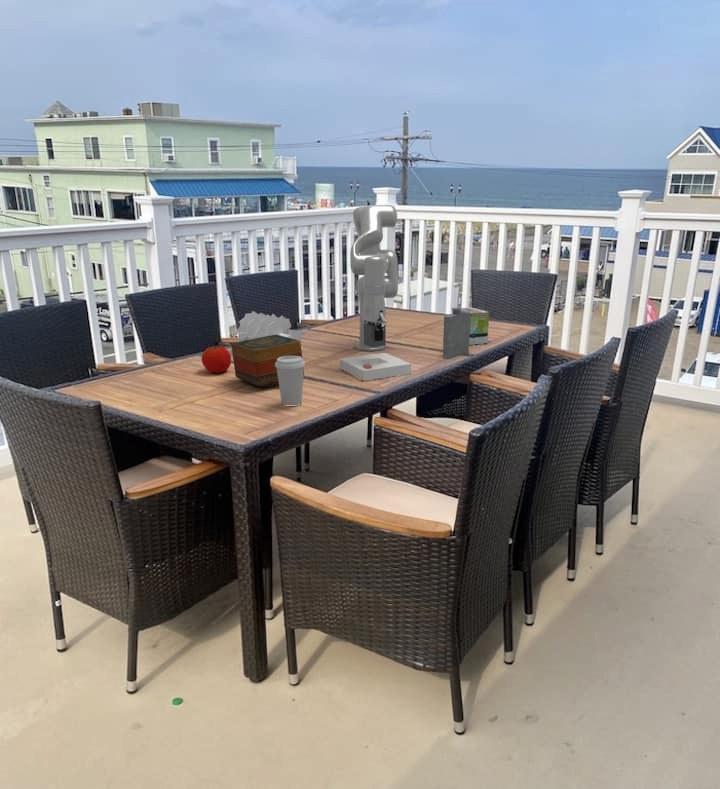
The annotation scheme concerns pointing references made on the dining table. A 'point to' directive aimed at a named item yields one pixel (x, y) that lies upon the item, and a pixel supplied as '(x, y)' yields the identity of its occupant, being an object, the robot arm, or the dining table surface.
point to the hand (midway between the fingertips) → (374, 338)
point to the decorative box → (262, 358)
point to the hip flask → (456, 333)
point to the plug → (373, 335)
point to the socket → (375, 366)
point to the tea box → (477, 325)
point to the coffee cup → (290, 379)
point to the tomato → (216, 359)
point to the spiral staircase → (265, 327)
